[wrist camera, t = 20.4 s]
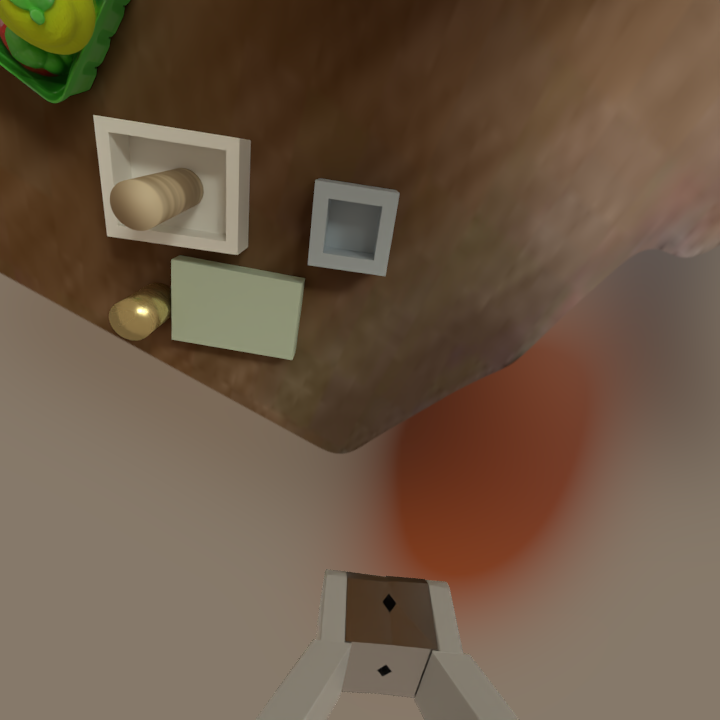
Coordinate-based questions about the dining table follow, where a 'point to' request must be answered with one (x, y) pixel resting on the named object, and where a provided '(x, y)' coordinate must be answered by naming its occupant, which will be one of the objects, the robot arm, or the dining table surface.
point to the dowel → (155, 197)
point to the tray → (170, 151)
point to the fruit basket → (57, 42)
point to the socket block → (352, 226)
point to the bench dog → (141, 312)
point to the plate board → (235, 307)
